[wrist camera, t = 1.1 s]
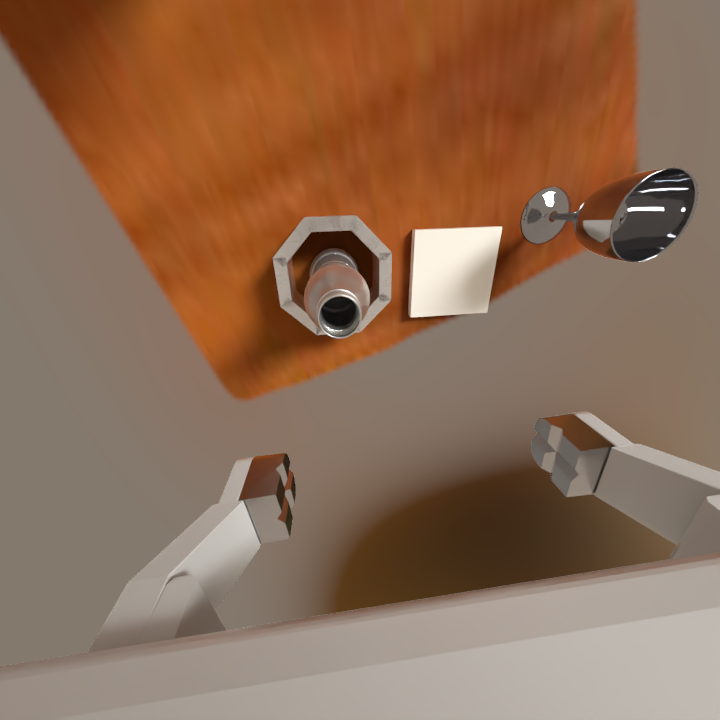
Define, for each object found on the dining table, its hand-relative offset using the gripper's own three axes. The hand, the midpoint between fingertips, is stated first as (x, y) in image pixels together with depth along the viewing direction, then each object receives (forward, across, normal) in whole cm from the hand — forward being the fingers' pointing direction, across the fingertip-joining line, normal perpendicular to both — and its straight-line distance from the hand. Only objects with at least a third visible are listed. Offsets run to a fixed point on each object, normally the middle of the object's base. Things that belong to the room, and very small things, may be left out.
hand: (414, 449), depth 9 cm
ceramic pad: (+35, -15, +1) cm, 38 cm away
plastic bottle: (+35, +2, -1) cm, 35 cm away
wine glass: (+36, -28, -5) cm, 45 cm away
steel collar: (+35, +2, -1) cm, 35 cm away
